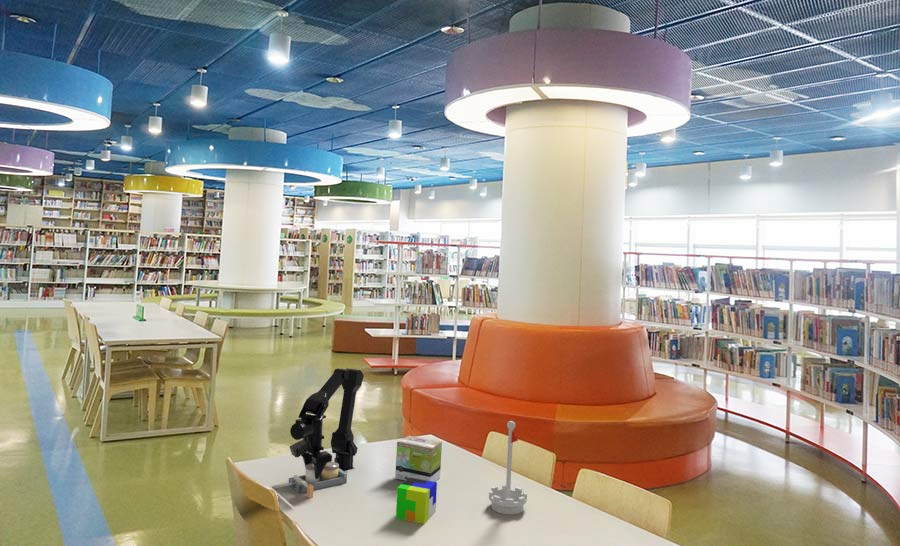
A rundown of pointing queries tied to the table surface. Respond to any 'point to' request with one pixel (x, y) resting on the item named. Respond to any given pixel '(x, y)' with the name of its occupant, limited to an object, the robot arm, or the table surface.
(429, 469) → the tea box
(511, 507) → the flag stand
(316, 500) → the table surface
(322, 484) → the grey flat frame
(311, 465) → the white jar
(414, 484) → the puzzle toy
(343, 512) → the table surface
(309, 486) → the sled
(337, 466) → the ochre jar
